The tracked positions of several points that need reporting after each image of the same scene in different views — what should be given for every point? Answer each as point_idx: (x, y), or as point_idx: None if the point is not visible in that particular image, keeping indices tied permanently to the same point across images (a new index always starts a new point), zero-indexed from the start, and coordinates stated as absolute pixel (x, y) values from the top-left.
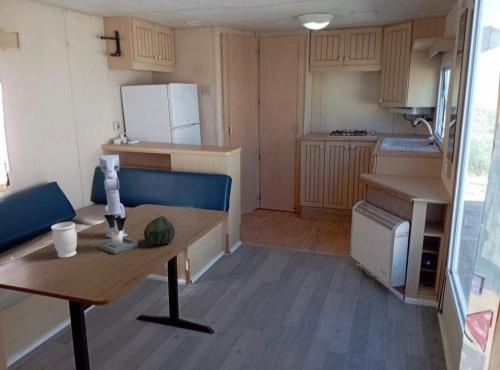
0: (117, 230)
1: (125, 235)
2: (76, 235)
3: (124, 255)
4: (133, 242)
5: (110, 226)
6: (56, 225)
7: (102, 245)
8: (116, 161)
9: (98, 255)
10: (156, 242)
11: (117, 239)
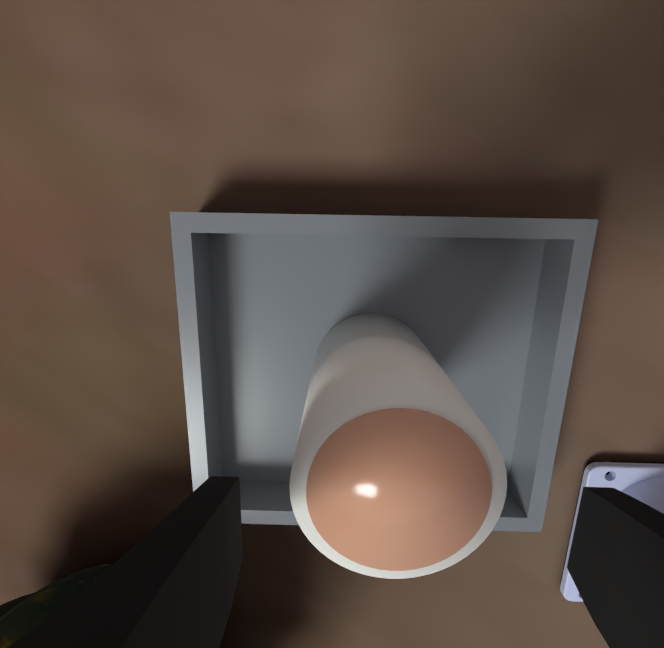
0: (381, 506)
1: (567, 576)
2: None
3: (98, 266)
4: (264, 496)
5: (620, 519)
6: None
7: (475, 217)
8: None
9: (336, 73)
10: (7, 603)
11: (314, 377)
